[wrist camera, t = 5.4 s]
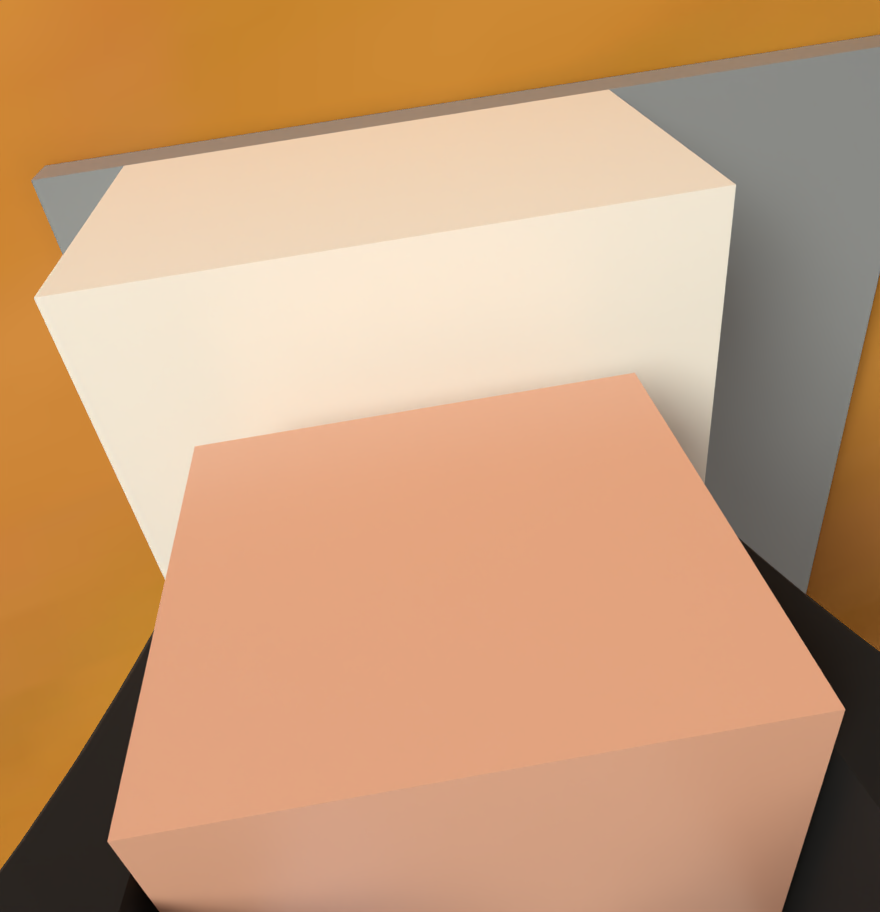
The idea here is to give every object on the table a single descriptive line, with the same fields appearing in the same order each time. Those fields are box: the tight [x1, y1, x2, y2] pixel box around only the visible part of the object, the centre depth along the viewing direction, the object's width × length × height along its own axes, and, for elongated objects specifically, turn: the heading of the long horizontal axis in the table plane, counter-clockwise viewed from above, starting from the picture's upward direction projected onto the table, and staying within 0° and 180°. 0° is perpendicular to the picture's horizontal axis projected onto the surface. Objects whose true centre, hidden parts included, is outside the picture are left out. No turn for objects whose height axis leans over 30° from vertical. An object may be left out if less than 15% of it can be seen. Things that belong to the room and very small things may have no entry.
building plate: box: [31, 35, 880, 594], centre depth 19 cm, size 20×15×1 cm
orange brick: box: [107, 373, 845, 912], centre depth 9 cm, size 5×5×4 cm
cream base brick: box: [34, 90, 736, 579], centre depth 13 cm, size 8×8×5 cm
